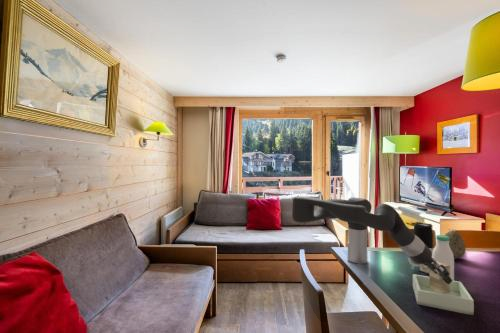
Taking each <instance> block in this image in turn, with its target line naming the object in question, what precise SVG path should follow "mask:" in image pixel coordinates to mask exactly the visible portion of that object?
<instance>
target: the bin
mask: <svg viewBox="0 0 500 333" xmlns="http://www.w3.org/2000/svg"><path fill="white" fill-rule="evenodd" d="M429 280H430V276H427V275H422V274H420V275H419V274H414V273H412V289H413V291H414V296H415V300H416V304H417V305H420V306H424V307H431V308H434V309H435V308H436V309H440V310H445V311H450V312H454V313H458V314H459V313H460V314H466V315H470V316H475V315H474V314H475V313H474V312H475V306H474V305H475V304H474V303H475V302H474V299H473V297H472V296H471V294H470V293H469V292H468V290H467V288H466V287H465V286H464V284H463V283H462V282H461V281H460V280H459V281H457V280H454V281H453V280H452V282H451V283H450V293H437V292H436V291H434V290H432V289H431V288H429Z"/></svg>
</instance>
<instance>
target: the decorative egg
mask: <svg viewBox="0 0 500 333" xmlns="http://www.w3.org/2000/svg"><path fill="white" fill-rule="evenodd" d="M444 235H445V236H448V237H449V238H450V240H449V246H450V249H451V251H452V253H453V256H454V260H457V259H460V258H462V257H463V256H464V255H465V252H466V249H467V248H466V244H465V240H464V239H463V237H462V236H461V234H460V233H459V232H457V231H455V230H449V231H448V232H446V233H445V234H444Z"/></svg>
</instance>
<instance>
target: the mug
mask: <svg viewBox="0 0 500 333" xmlns="http://www.w3.org/2000/svg"><path fill="white" fill-rule="evenodd" d="M429 249H430V250H431V251H432V253H433V250H434V248H433V249H431V248H429ZM407 261H408V263H409V265H411V266H413V267H419V270H420V272H423V273H425V274H430V271H428V269H425V268H424V267H423V266H422V265H421V264H416V263H414V262H413V261H412V260H411V259H410V258H409V257H408V256H407Z"/></svg>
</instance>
